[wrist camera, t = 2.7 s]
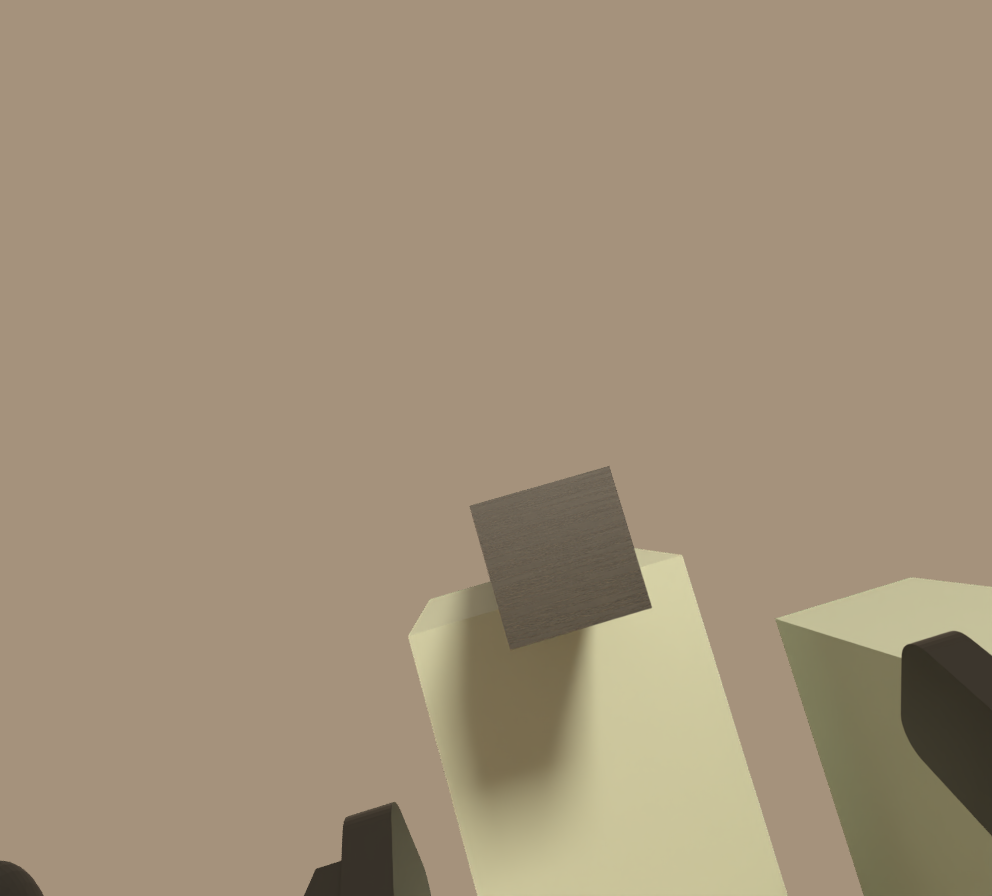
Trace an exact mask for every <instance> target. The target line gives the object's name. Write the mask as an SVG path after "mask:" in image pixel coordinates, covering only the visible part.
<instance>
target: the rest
mask: <svg viewBox="0 0 992 896" xmlns="http://www.w3.org/2000/svg"><path fill="white" fill-rule="evenodd" d="M776 622H777V625H778V629H779V632H780V635H781V638H782V641H783V644H784V648H785V651H786V653H787V657H788V660H789V663H790V666H791V669H792V673H793V676H794V679H795V682H796V685H797V688H798V691H799V694H800V697H801V700H802V704H803V706H804V710H805V713H806V716H807V719H808V723H809V726H810V729H811V732H812V735H813V738H814V741H815V744H816V748H817V751H818V754H819V757H820V760H821V763H822V766H823V769H824V772H825V776H826V779H827V782H828V785H829V788H830V791H831V794H832V797H833V801H834V804H835V807H836V810H837V813H838V816H839V819H840V822H841V826H842V828H843V832H844V835H845V838H846V841H847V844H848V847H849V850H850V854H851V857H852V859H853V863H854V866H855V869H856V872H857V875H858V879H859V882H860V885H861V888H862V891H863V894H864V896H992V836H991V835H990V834H989V832H988V831H987V830H986V829H985V828H984V827H983V826H982V825H981V824H980V823H979V822H978V820H977V819H976V818H975V817H974V816H973V815H972V814H971V813H970V812H969V811H968V810H967V808H966V807H965V806H964V805H963V804H962V803H961V802H960V801H959V800H958V799H957V798H956V796H955V795H954V794H953V793H952V792H951V791H950V790H949V789H948V788H947V787H946V786H945V784H944V783H943V782H942V781H941V780H940V779H939V778H938V777H937V776H936V775H935V774H934V772H933V771H932V770H931V769H930V768H929V767H928V766H927V765H926V764H925V763H924V762H923V760H922V759H921V758H920V757H919V756H918V754H917V753H916V752H915V750H914V749H913V747H912V745H911V744H910V742H909V740H908V738H907V736H906V734H905V731H904V728H903V725H902V721H901V659H902V650H903V648H904V647H905V646H906V645H907V644H910V643H914V642H917V641H920V640H923V639H926V638H930V637H933V636H936V635H939V634H943V633H946V632H949V631H958V632H961V633H963V634H965V635H967V636H968V637H969V638H971V639H972V640H973V641H974V642H976V643H977V644H978V645H979V646H981V647H982V648H983V649H984V650H986V651H987V652H988V653H989V654H991V655H992V587H987V586H979V585H971V584H962V583H954V582H945V581H937V580H929V579H921V578H912V577H911V578H908V579H904V580H901V581H898V582H895V583H891V584H888V585H885V586H881V587H878V588H875V589H871V590H868V591H865V592H862V593H858V594H855V595H852V596H848V597H845V598H842V599H839V600H835V601H832V602H829V603H825V604H822V605H819V606H816V607H812V608H809V609H806V610H802V611H799V612H796V613H792V614H789V615H786V616H783V617H779V618H776Z"/></svg>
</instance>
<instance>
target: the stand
mask: <svg viewBox="0 0 992 896" xmlns="http://www.w3.org/2000/svg"><path fill="white" fill-rule="evenodd" d="M634 549H635V553H636V556H637V559H638V563H639V566H640V569H641V573H642V576H643V579H644V582H645V586H646V589H647V592H648V596H649V599H650V602H651V606H652V608H650V609H647V610H643V611H640V612H637V613H633V614H630V615H627V616H623V617H620V618H617V619H613V620H610V621H607V622H603V623H600V624H597V625H593V626H590V627H587V628H583V629H580V630H577V631H573V632H570V633H567V634H563V635H560V636H557V637H553V638H550V639H547V640H543V641H540V642H537V643H533V644H530V645H527V646H523V647H520V648H517V649H513V650H510V647H509V644H508V640H507V637H506V633H505V630H504V627H503V623H502V620H501V616H500V613H499V609H498V606H497V602H496V599H495V595H494V592H493V588H492V585H491V582H488V583H484V584H481V585H477V586H474V587H470V588H467V589H464V590H460V591H457V592H453V593H450V594H447V595H443V596H440V597H437V598H433V599H430V600H429V602H428V604H427V605H426V607H425V609H424V610H423V612H422V614H421V615H420V617H419V619H418V620H417V622H416V624H415V626H414V627H413V629H412V630H411V632H410V634H409V635H408V638H409V641H410V645H411V649H412V653H413V656H414V660H415V664H416V668H417V671H418V675H419V679H420V683H421V686H422V690H423V694H424V698H425V701H426V705H427V709H428V713H429V716H430V720H431V724H432V728H433V731H434V735H435V739H436V743H437V746H438V750H439V754H440V757H441V761H442V765H443V768H444V772H445V776H446V780H447V784H448V787H449V791H450V795H451V799H452V802H453V806H454V810H455V813H456V817H457V821H458V825H459V828H460V832H461V836H462V840H463V843H464V847H465V851H466V855H467V858H468V862H469V866H470V870H471V873H472V877H473V881H474V885H475V888H476V892H477V895H478V896H787V892H786V889H785V886H784V883H783V879H782V876H781V873H780V870H779V867H778V863H777V860H776V857H775V853H774V850H773V847H772V844H771V840H770V838H769V834H768V831H767V828H766V824H765V821H764V818H763V815H762V811H761V808H760V805H759V802H758V799H757V795H756V792H755V789H754V786H753V783H752V779H751V776H750V773H749V769H748V766H747V763H746V760H745V757H744V754H743V750H742V747H741V744H740V740H739V737H738V734H737V731H736V728H735V725H734V721H733V718H732V715H731V711H730V708H729V705H728V702H727V699H726V695H725V692H724V689H723V686H722V682H721V679H720V676H719V673H718V670H717V666H716V663H715V660H714V656H713V653H712V650H711V647H710V644H709V640H708V637H707V634H706V631H705V627H704V624H703V621H702V618H701V615H700V611H699V608H698V605H697V602H696V598H695V595H694V592H693V589H692V585H691V582H690V579H689V576H688V573H687V569H686V566H685V563H684V560H683V556H682V555H678V554H671V553H664V552H657V551H649V550H643V549H637V548H634Z"/></svg>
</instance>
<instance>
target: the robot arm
mask: <svg viewBox="0 0 992 896" xmlns="http://www.w3.org/2000/svg"><path fill="white" fill-rule="evenodd" d="M901 721H902V725H903V728H904V731H905V734H906V736H907V738H908V740H909V742H910V744H911V745H912V747H913V749H914V750H915V752H916V753H917V754H918V756H919V757H920V758H921V759H922V760H923V762H924V763H925V764H926V765H927V766H928V767H929V768H930V769H931V770H932V771H933V772H934V774H935V775H936V776H937V777H938V778H939V779H940V780H941V781H942V782H943V783H944V784H945V786H946V787H947V788H948V789H949V790H950V791H951V792H952V793H953V794H954V795H955V796H956V798H957V799H958V800H959V801H960V802H961V803H962V804H963V805H964V806H965V807H966V808H967V810H968V811H969V812H970V813H971V814H972V815H973V816H974V817H975V818H976V819H977V820H978V822H979V823H980V824H981V825H982V826H983V827H984V828H985V829H986V830H987V831H988V832H989V834H990V835H991V836H992V655H991V654H989V653H988V652H987V651H986V650H984V649H983V648H982V647H981V646H979V645H978V644H977V643H976V642H974V641H973V640H972V639H971V638H969V637H968V636H967V635H965V634H963V633H961V632H958V631H949V632H946V633H943V634H939V635H936V636H933V637H930V638H926V639H923V640H920V641H917V642H914V643H910V644H907V645H906V646H905V647H904V648H903V650H902V659H901ZM342 837H343V838H342V860H341V861H340V862H337V863H333V864H330V865H327V866H324V867H321V868H317V869H316V870H315V872H314V874H313V877H312V879H311V881H310V884H309V886H308V888H307V890H306V893H305V895H304V896H431V894H430V888H429V884H428V880H427V876H426V872H425V869H424V866H423V864H422V861H421V859H420V856H419V854H418V852H417V849H416V847H415V845H414V842H413V840H412V837H411V835H410V832H409V830H408V828H407V825H406V823H405V820H404V818H403V816H402V813H401V811H400V809H399V807H398V805H397V804H396V803H395V802H393V803H389V804H386V805H383V806H380V807H377V808H373V809H370V810H367V811H364V812H360V813H357V814H354V815H351V816H348V817H346V818H345V821H344V825H343V836H342ZM0 896H43V894H42V892H41V890H40V888H39V887H38V885H37V884H36V882H35V881H34V879H33V878H32V877H31V876H30V875H29V874H28V873H27V872H26V871H25V870H23V869H22V868H21V867H19V866H17V865H15V864H13V863H11V862H6V861H0Z"/></svg>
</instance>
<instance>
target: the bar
mask: <svg viewBox="0 0 992 896" xmlns="http://www.w3.org/2000/svg"><path fill="white" fill-rule="evenodd" d="M470 509H471V513H472V517H473V521H474V524H475V528H476V531H477V535H478V538H479V542H480V545H481V549H482V553H483V556H484V559H485V563H486V567H487V570H488V574H489V577H490V581H491V585H492V588H493V592H494V595H495V599H496V602H497V606H498V609H499V613H500V616H501V620H502V623H503V627H504V630H505V633H506V637H507V640H508V644H509V647H510V650H513V649H517V648H520V647H523V646H527V645H530V644H533V643H537V642H540V641H543V640H547V639H550V638H553V637H557V636H560V635H563V634H567V633H570V632H573V631H577V630H580V629H583V628H587V627H590V626H593V625H597V624H600V623H603V622H607V621H610V620H613V619H617V618H620V617H623V616H627V615H630V614H633V613H637V612H640V611H643V610H647V609H650V608H652V606H651V602H650V599H649V596H648V592H647V589H646V586H645V582H644V579H643V576H642V573H641V569H640V566H639V563H638V559H637V556H636V553H635V549H634V546H633V543H632V540H631V536H630V533H629V530H628V526H627V523H626V520H625V516H624V513H623V510H622V507H621V503H620V500H619V497H618V494H617V490H616V487H615V484H614V480H613V477H612V474H611V470H610V467H609V466H608V467H604V468H601V469H597V470H594V471H590V472H587V473H583V474H580V475H576V476H573V477H569V478H566V479H563V480H559V481H555V482H552V483H548V484H545V485H542V486H538V487H534V488H531V489H527V490H524V491H520V492H517V493H513V494H510V495H506V496H503V497H499V498H496V499H492V500H489V501H485V502H482V503H479V504H475V505H471V506H470Z"/></svg>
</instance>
